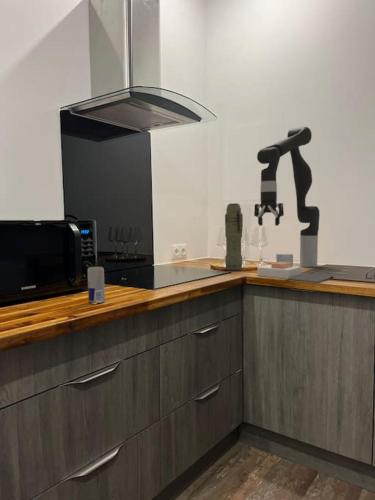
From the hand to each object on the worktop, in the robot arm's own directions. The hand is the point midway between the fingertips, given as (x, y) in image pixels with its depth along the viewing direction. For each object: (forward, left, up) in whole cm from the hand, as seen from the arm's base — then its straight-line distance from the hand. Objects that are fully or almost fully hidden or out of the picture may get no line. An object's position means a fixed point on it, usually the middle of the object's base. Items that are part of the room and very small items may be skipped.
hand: (268, 225), depth 181 cm
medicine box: (-17, 0, -24) cm, 30 cm away
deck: (-2, +5, -24) cm, 24 cm away
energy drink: (+87, -17, -24) cm, 92 cm away
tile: (-2, +6, -20) cm, 21 cm away
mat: (-2, +20, -24) cm, 31 cm away
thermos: (-6, -24, -24) cm, 35 cm away
